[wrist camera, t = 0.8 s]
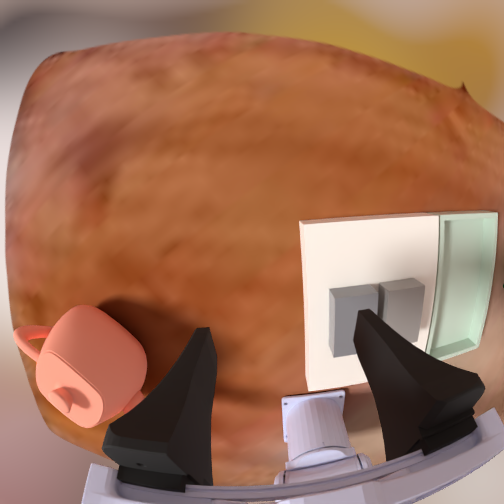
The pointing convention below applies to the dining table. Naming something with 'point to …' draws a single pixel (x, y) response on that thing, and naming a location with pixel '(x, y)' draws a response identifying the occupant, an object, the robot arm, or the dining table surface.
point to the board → (360, 278)
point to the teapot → (87, 365)
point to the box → (462, 281)
